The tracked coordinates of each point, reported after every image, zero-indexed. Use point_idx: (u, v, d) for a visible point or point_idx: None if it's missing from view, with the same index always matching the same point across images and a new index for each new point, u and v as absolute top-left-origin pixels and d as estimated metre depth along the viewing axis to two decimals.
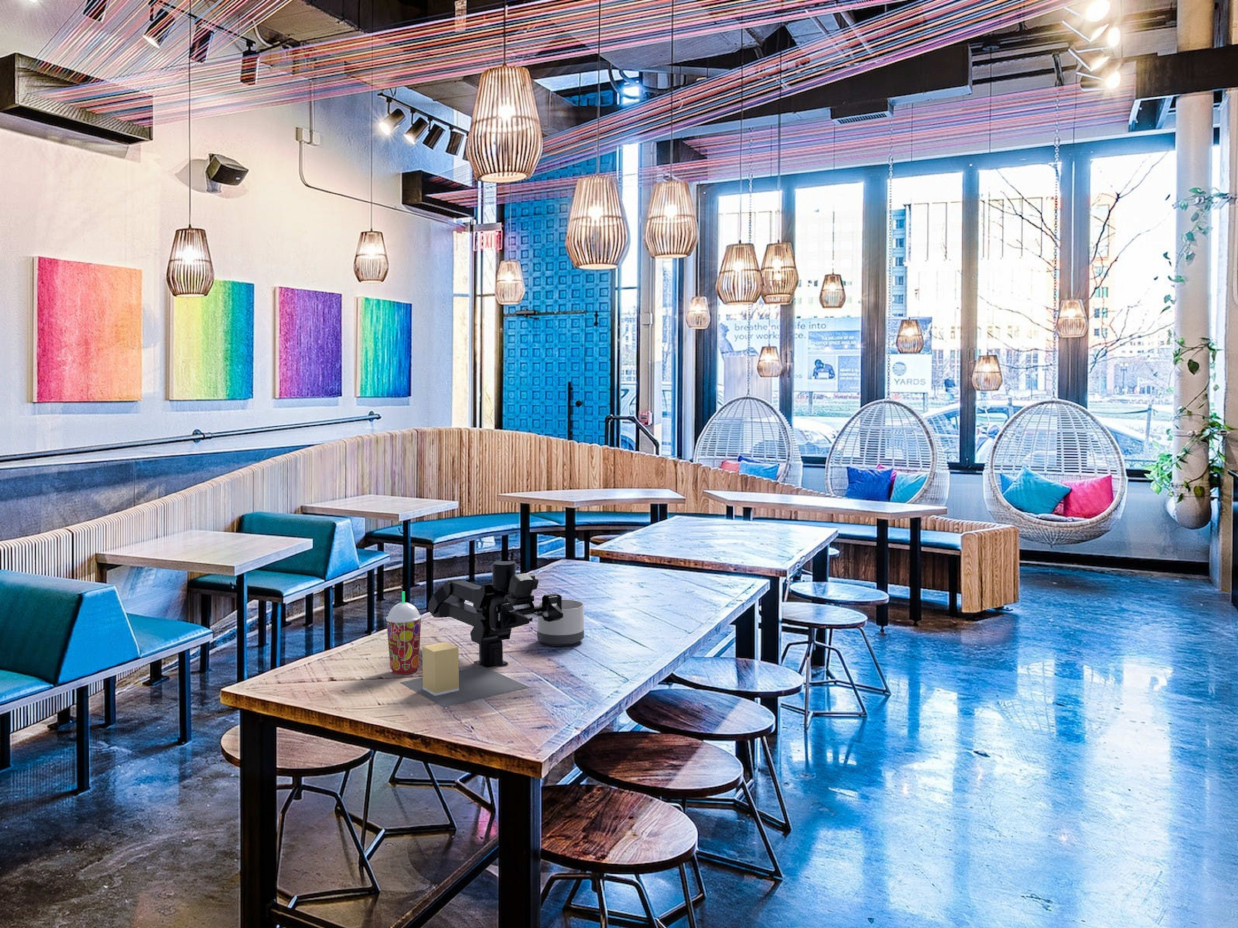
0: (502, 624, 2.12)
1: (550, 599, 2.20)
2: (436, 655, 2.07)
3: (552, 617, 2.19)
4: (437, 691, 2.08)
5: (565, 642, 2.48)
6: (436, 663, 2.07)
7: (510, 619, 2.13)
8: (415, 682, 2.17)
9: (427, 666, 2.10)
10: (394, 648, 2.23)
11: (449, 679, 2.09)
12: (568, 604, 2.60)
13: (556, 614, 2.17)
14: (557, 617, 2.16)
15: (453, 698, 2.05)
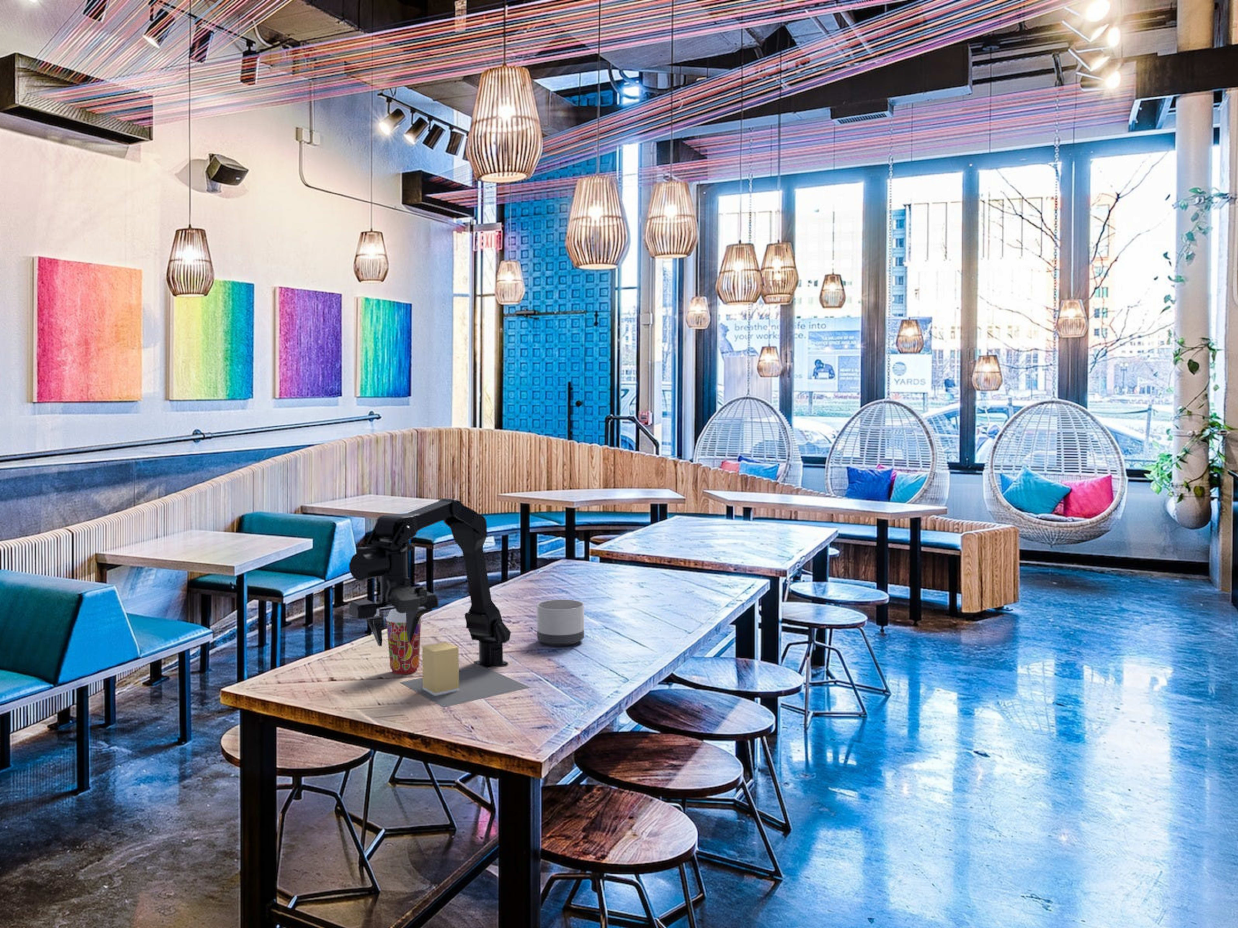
0: None
1: (417, 614, 2.04)
2: (436, 655, 2.07)
3: (407, 619, 2.07)
4: (437, 691, 2.08)
5: (565, 642, 2.48)
6: (436, 663, 2.07)
7: None
8: (415, 682, 2.17)
9: (427, 666, 2.10)
10: (394, 648, 2.23)
11: (449, 679, 2.09)
12: (568, 604, 2.60)
13: (408, 629, 2.06)
14: (407, 631, 2.06)
15: (453, 698, 2.05)
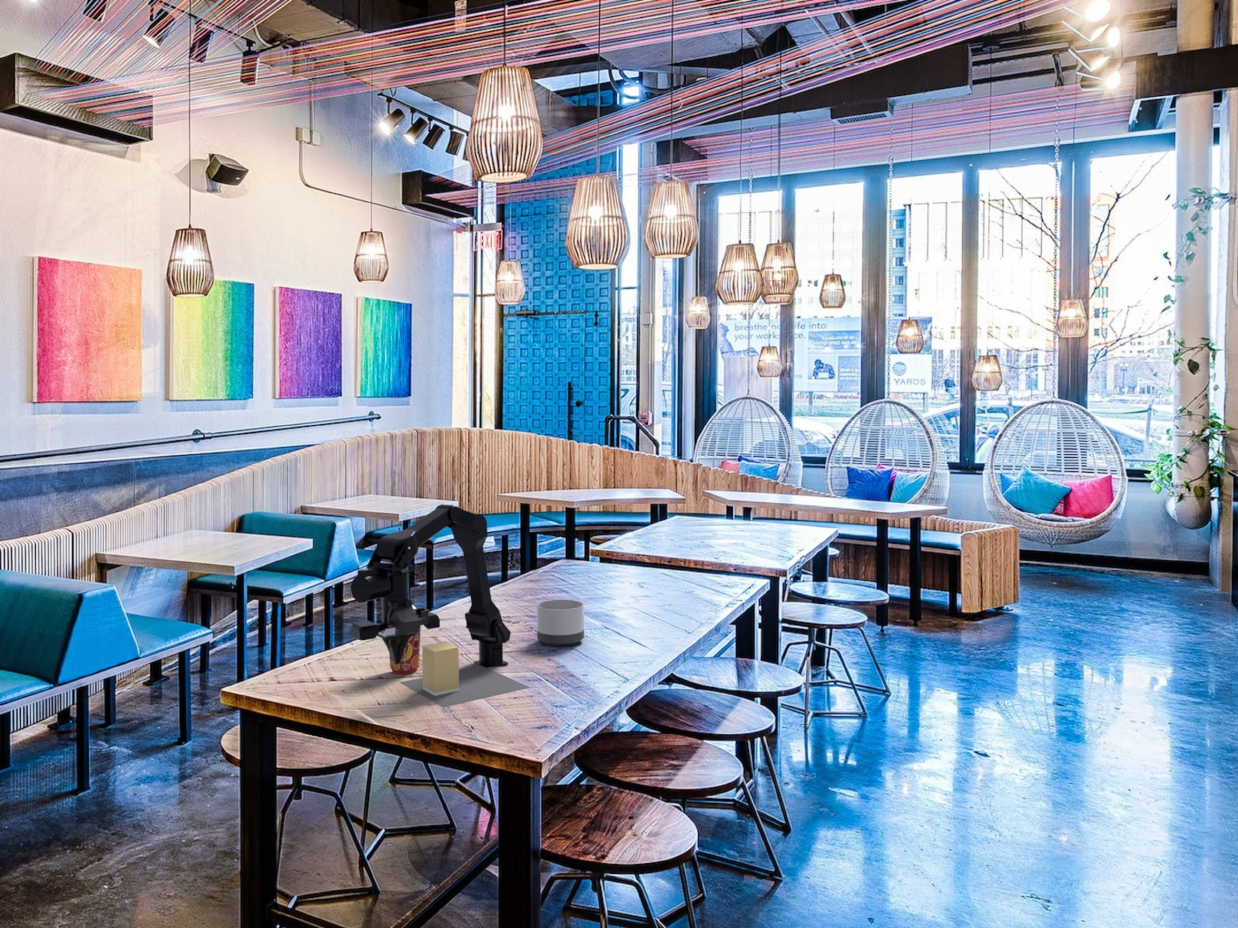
0: None
1: (405, 637, 2.03)
2: (436, 655, 2.07)
3: None
4: (437, 691, 2.08)
5: (565, 642, 2.48)
6: (436, 663, 2.07)
7: None
8: (415, 682, 2.17)
9: (427, 666, 2.10)
10: None
11: (449, 679, 2.09)
12: (568, 604, 2.60)
13: None
14: None
15: (453, 698, 2.05)
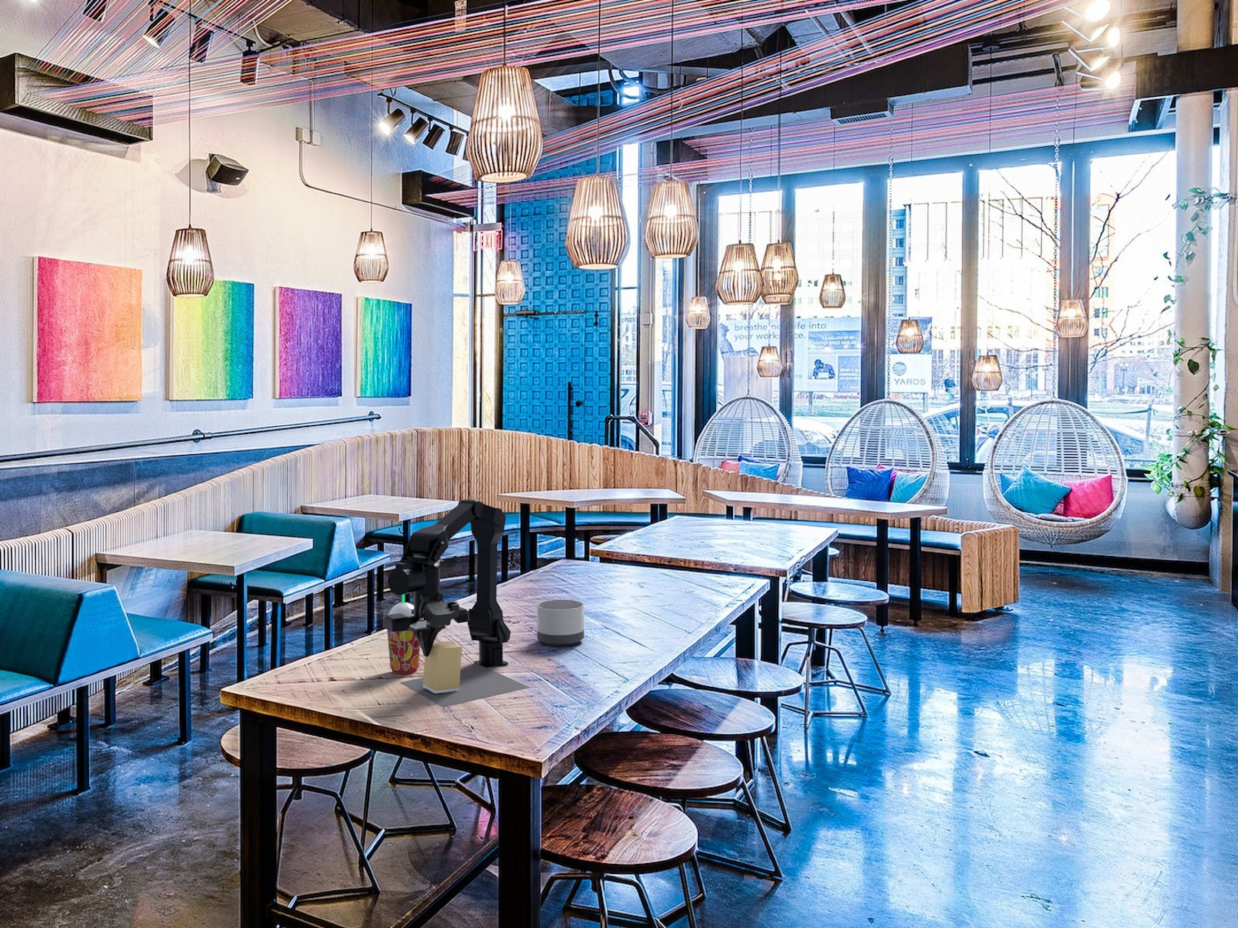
0: None
1: (435, 630, 2.07)
2: (439, 652, 2.07)
3: None
4: (437, 689, 2.08)
5: (565, 642, 2.48)
6: (439, 661, 2.07)
7: None
8: (415, 682, 2.17)
9: (429, 663, 2.10)
10: (394, 648, 2.23)
11: (450, 678, 2.09)
12: (568, 604, 2.60)
13: None
14: None
15: (453, 698, 2.05)
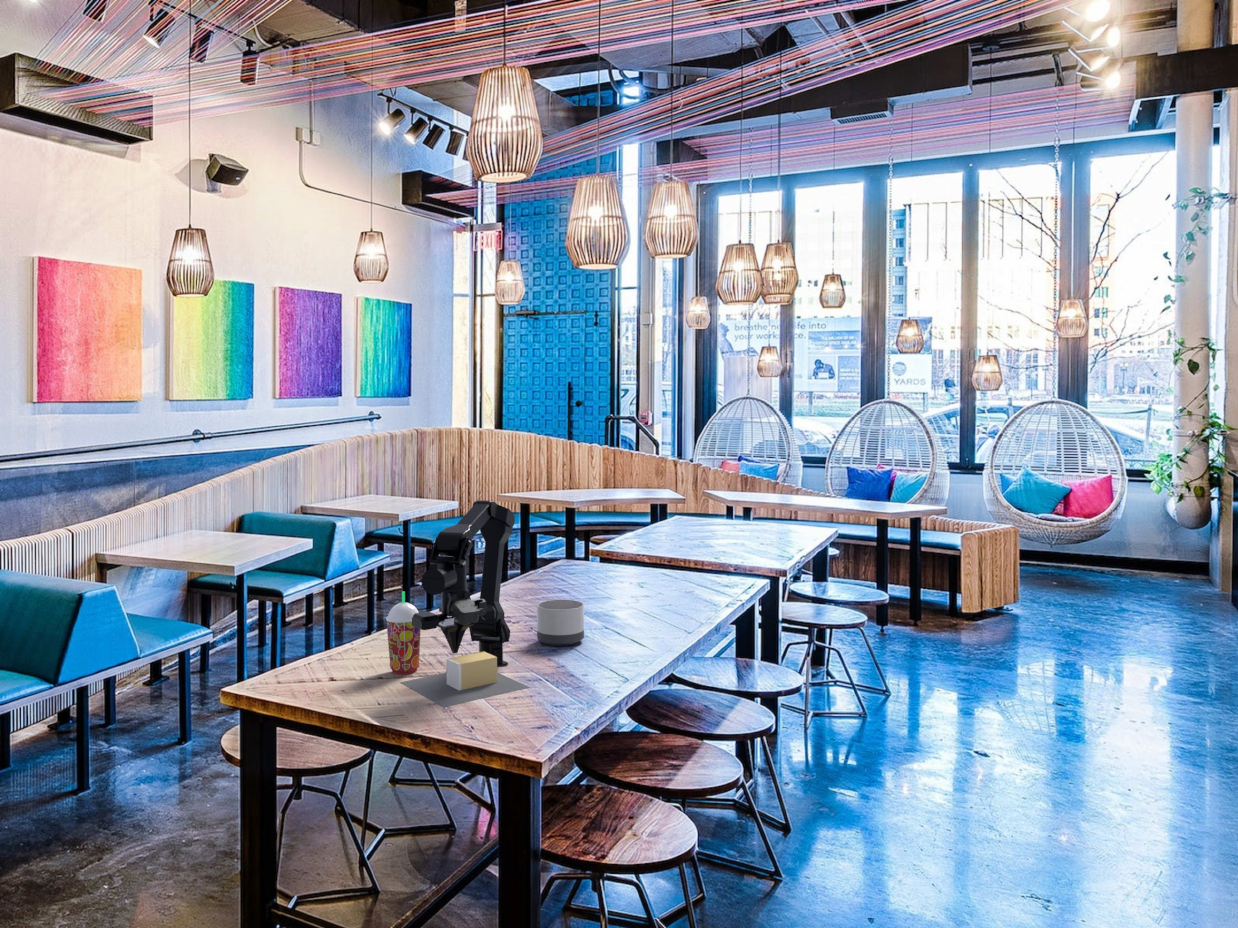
0: None
1: (463, 627, 2.11)
2: (493, 659, 2.16)
3: None
4: (461, 666, 2.11)
5: (565, 642, 2.48)
6: (486, 661, 2.15)
7: None
8: (415, 682, 2.17)
9: (474, 656, 2.17)
10: (394, 648, 2.23)
11: (470, 677, 2.13)
12: (568, 604, 2.60)
13: None
14: None
15: (453, 698, 2.05)
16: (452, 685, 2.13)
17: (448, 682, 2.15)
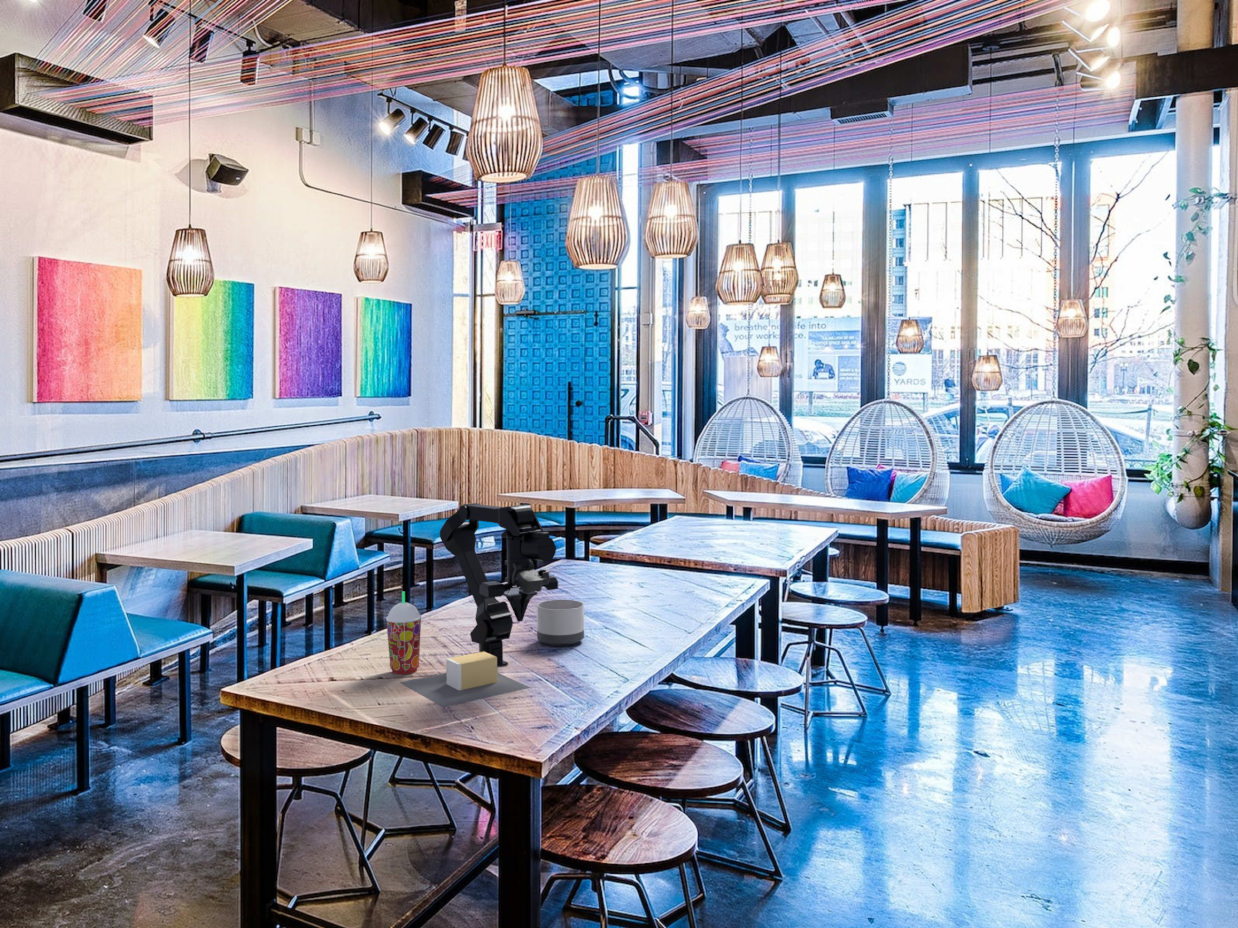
0: None
1: (528, 596, 2.23)
2: (493, 659, 2.16)
3: None
4: (461, 666, 2.11)
5: (565, 642, 2.48)
6: (486, 661, 2.15)
7: None
8: (415, 682, 2.17)
9: (474, 656, 2.17)
10: (394, 648, 2.23)
11: (470, 677, 2.13)
12: (568, 604, 2.60)
13: None
14: None
15: (453, 698, 2.05)
16: (452, 685, 2.13)
17: (448, 682, 2.15)
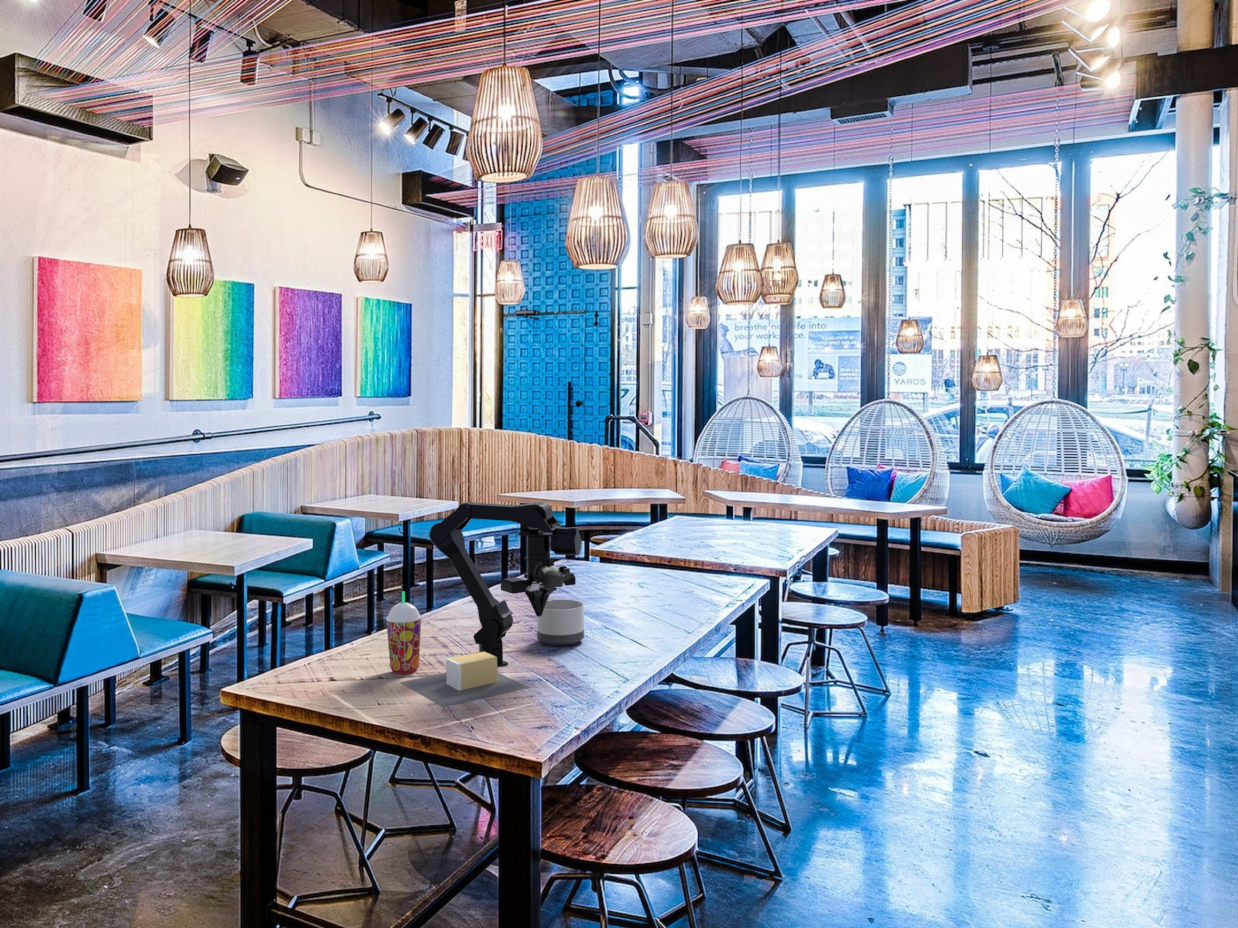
0: None
1: (547, 592, 2.27)
2: (493, 659, 2.16)
3: None
4: (461, 666, 2.11)
5: (565, 642, 2.48)
6: (486, 661, 2.15)
7: None
8: (415, 682, 2.17)
9: (474, 656, 2.17)
10: (394, 648, 2.23)
11: (470, 677, 2.13)
12: (568, 604, 2.60)
13: None
14: None
15: (453, 698, 2.05)
16: (452, 685, 2.13)
17: (448, 682, 2.15)
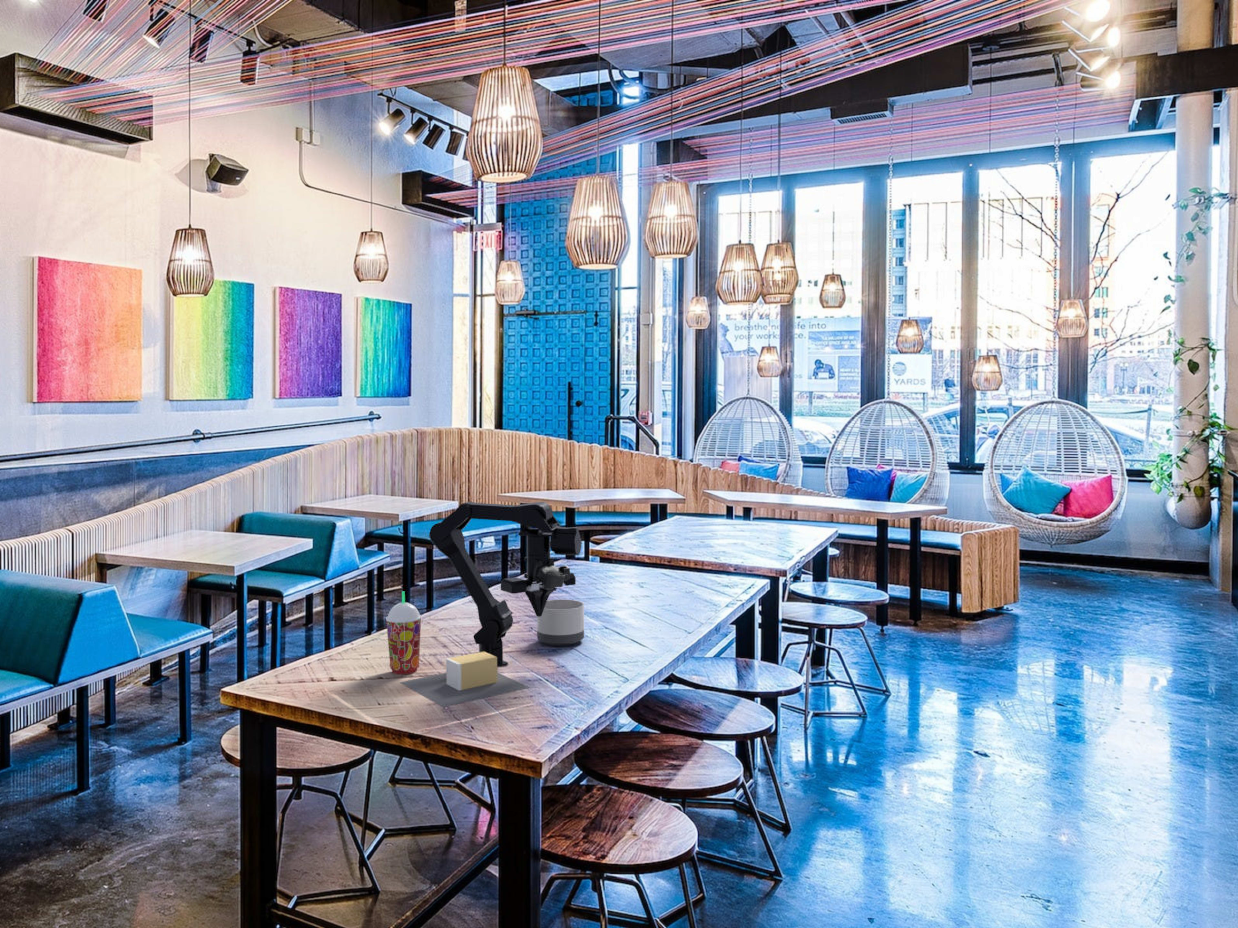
0: None
1: (547, 592, 2.27)
2: (493, 659, 2.16)
3: None
4: (461, 666, 2.11)
5: (565, 642, 2.48)
6: (486, 661, 2.15)
7: None
8: (415, 682, 2.17)
9: (474, 656, 2.17)
10: (394, 648, 2.23)
11: (470, 677, 2.13)
12: (568, 604, 2.60)
13: None
14: None
15: (453, 698, 2.05)
16: (452, 685, 2.13)
17: (448, 682, 2.15)
